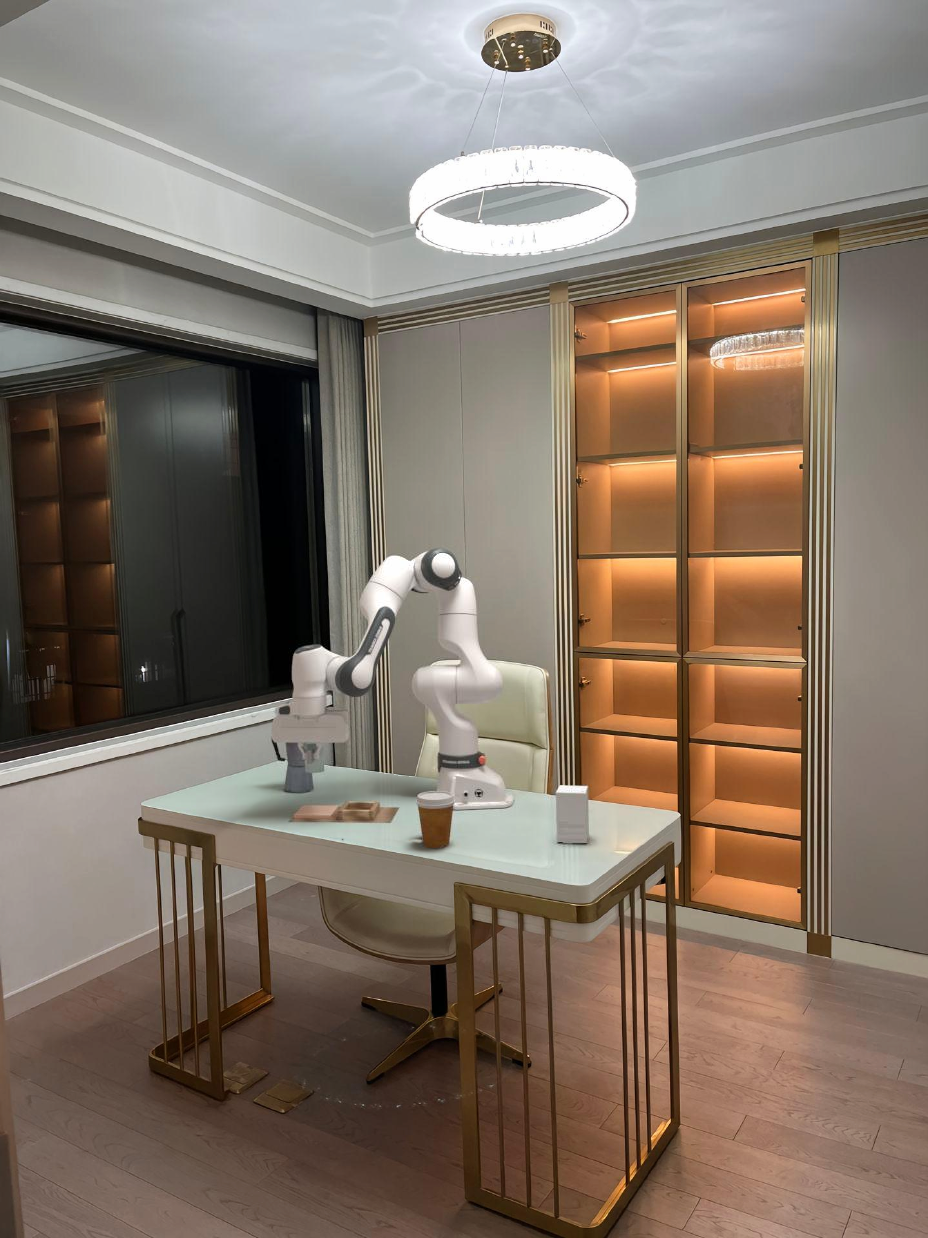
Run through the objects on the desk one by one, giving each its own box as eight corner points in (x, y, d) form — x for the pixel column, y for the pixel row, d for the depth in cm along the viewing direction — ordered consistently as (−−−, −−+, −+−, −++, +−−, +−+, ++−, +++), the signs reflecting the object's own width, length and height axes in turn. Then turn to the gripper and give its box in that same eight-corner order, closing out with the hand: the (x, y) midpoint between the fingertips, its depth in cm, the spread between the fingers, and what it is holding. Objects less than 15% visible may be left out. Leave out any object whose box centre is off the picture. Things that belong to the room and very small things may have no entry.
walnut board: (399, 811, 258) (399, 798, 257) (390, 826, 243) (390, 813, 242) (303, 810, 260) (302, 797, 260) (288, 825, 245) (287, 812, 245)
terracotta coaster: (339, 808, 258) (339, 805, 257) (330, 818, 248) (330, 815, 248) (303, 808, 258) (303, 805, 258) (293, 818, 248) (293, 815, 248)
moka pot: (320, 793, 278) (318, 726, 277) (268, 794, 278) (266, 727, 277) (325, 786, 288) (324, 721, 286) (275, 786, 288) (273, 721, 287)
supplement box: (589, 836, 232) (589, 785, 231) (586, 845, 225) (586, 793, 224) (559, 834, 234) (559, 784, 233) (555, 843, 227) (555, 791, 226)
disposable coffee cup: (459, 839, 231) (458, 791, 230) (452, 851, 222) (451, 801, 221) (421, 837, 233) (420, 790, 232) (412, 849, 223) (411, 799, 223)
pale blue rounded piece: (318, 775, 245) (317, 746, 245) (300, 775, 246) (299, 747, 246) (326, 769, 253) (325, 741, 253) (308, 769, 254) (307, 741, 254)
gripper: (351, 705, 249) (352, 756, 250) (275, 705, 251) (277, 756, 252) (346, 708, 243) (347, 761, 244) (268, 708, 245) (270, 761, 246)
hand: (311, 759), depth 248 cm, fingers closed on pale blue rounded piece
